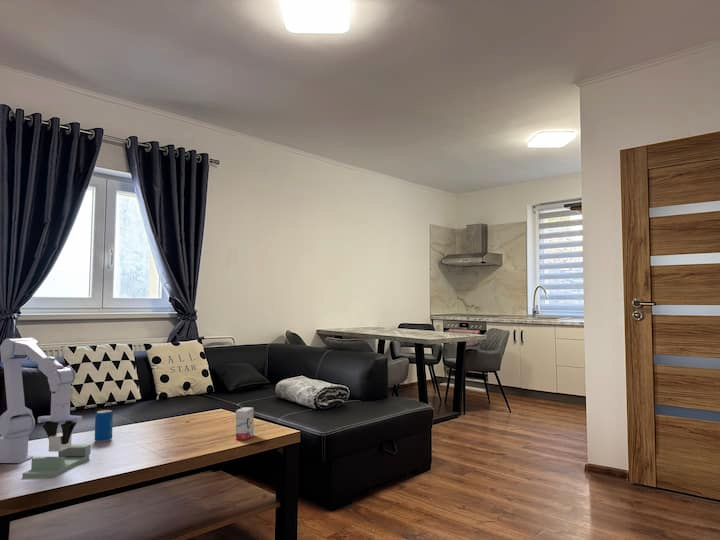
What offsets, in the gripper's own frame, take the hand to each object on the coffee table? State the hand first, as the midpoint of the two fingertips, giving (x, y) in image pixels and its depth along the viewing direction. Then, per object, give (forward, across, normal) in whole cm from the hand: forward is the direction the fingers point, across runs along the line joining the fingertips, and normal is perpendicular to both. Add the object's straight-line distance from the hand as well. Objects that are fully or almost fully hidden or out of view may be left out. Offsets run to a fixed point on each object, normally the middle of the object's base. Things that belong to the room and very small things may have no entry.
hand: (59, 443), depth 169 cm
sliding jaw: (+7, 0, +9) cm, 11 cm away
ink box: (+8, +54, +40) cm, 68 cm away
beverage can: (+8, -4, +35) cm, 36 cm away
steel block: (+2, 0, +1) cm, 2 cm away
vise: (+8, 0, 0) cm, 8 cm away
